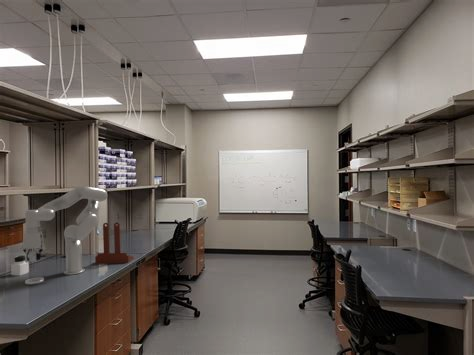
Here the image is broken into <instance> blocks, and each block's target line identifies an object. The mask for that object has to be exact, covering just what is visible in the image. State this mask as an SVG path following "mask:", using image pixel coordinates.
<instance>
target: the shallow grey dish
mask: <svg viewBox="0 0 474 355" xmlns="http://www.w3.org/2000/svg"><path fill="white" fill-rule="evenodd" d="M44 282H45V278H44V277H40V276H39V277H32V278H28V279H26V280H25V281H24V285H25V286H33V285H39V284H41V283H44Z"/></svg>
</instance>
